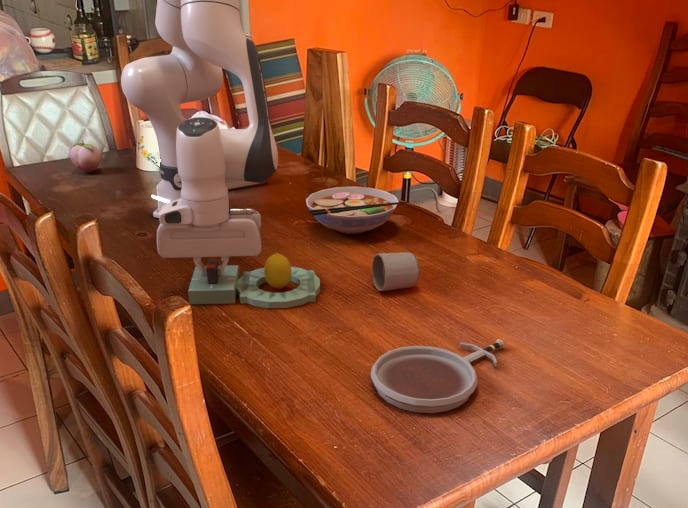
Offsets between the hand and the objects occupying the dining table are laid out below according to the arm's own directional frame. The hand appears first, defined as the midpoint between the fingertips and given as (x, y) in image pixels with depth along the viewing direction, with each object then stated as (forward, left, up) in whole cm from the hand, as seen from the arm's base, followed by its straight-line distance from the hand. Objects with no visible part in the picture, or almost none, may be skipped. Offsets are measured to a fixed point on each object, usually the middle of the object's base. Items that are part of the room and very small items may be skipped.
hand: (213, 275), depth 136 cm
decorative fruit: (-89, -49, -4) cm, 101 cm away
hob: (-1, +13, -4) cm, 14 cm away
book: (-82, -10, -4) cm, 83 cm away
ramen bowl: (-35, +30, -4) cm, 47 cm away
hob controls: (-1, 0, -4) cm, 4 cm away
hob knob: (0, 0, -1) cm, 1 cm away
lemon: (-1, +13, -4) cm, 14 cm away
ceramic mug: (-2, +36, -4) cm, 37 cm away
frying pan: (+32, +42, -4) cm, 53 cm away
